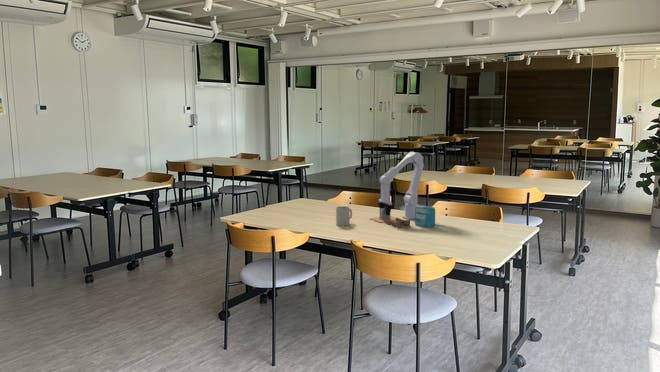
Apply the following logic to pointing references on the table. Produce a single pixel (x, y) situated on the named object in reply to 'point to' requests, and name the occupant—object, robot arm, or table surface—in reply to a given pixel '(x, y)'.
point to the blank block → (383, 214)
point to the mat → (383, 220)
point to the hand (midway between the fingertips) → (385, 214)
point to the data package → (425, 216)
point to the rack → (398, 222)
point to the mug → (343, 215)
